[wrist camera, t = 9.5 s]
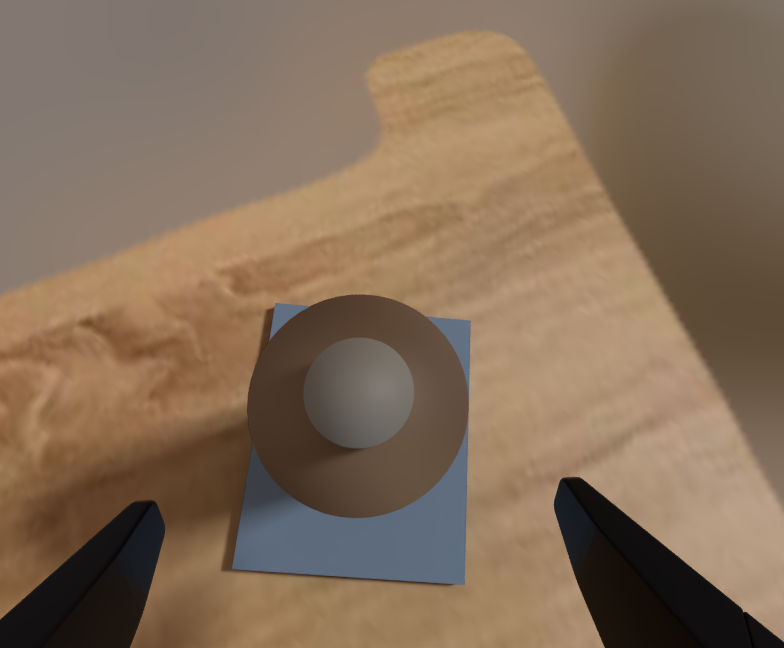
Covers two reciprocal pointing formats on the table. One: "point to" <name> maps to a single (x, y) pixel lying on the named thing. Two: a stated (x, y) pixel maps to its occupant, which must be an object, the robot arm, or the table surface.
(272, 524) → the placemat
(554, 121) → the table surface
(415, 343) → the pepper mill
